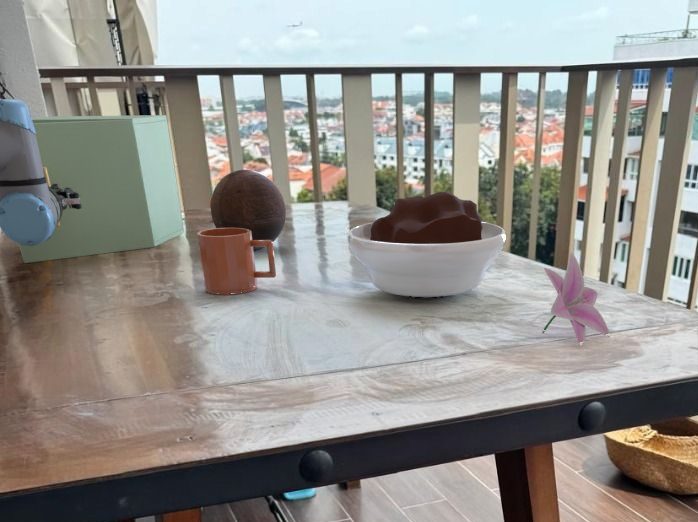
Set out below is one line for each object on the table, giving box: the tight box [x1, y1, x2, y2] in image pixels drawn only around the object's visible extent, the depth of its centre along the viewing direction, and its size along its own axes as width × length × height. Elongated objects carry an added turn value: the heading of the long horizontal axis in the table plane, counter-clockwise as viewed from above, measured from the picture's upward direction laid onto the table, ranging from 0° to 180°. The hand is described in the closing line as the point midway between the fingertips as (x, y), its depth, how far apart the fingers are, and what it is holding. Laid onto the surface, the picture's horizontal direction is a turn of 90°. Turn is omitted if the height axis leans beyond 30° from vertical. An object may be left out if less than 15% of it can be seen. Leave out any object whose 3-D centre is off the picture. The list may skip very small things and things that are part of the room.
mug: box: [196, 227, 277, 296], centre depth 125 cm, size 12×9×9 cm
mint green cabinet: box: [18, 120, 155, 264], centre depth 145 cm, size 7×26×24 cm, turn 126°
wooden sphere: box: [210, 169, 287, 251], centre depth 153 cm, size 15×15×15 cm
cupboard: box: [31, 114, 185, 248], centre depth 163 cm, size 18×26×24 cm
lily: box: [542, 252, 611, 349], centre depth 99 cm, size 12×12×10 cm
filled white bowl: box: [347, 191, 507, 299], centre depth 119 cm, size 25×25×15 cm
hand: (50, 192), depth 143 cm, fingers closed on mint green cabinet, 2 cm apart
